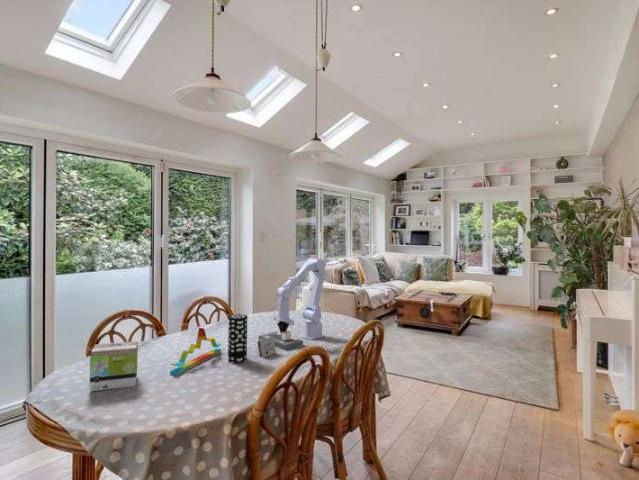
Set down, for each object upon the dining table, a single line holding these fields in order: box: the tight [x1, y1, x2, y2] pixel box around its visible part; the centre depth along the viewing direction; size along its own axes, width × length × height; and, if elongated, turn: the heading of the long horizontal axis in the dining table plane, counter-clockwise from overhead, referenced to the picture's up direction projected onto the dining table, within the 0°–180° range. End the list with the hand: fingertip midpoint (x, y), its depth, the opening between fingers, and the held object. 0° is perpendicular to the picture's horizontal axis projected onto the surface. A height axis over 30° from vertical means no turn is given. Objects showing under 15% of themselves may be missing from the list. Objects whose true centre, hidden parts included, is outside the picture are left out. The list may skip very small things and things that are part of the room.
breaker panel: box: [258, 331, 304, 351], centre depth 194 cm, size 12×22×3 cm, turn 46°
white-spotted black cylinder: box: [227, 313, 248, 364], centre depth 167 cm, size 8×8×20 cm
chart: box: [169, 327, 222, 377], centre depth 163 cm, size 30×3×15 cm, turn 160°
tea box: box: [89, 340, 139, 393], centre depth 139 cm, size 15×10×15 cm, turn 114°
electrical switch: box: [257, 336, 277, 358], centre depth 175 cm, size 8×5×8 cm, turn 141°
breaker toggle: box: [282, 330, 292, 340], centre depth 190 cm, size 4×3×4 cm
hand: (283, 336), depth 192 cm, fingers closed
